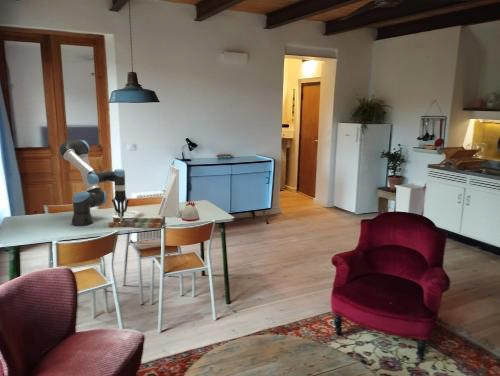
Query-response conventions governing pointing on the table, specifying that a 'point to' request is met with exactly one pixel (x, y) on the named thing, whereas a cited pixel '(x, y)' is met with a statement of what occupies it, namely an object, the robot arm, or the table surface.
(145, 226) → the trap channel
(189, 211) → the beige rounded dome
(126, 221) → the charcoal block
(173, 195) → the white bracket plate
